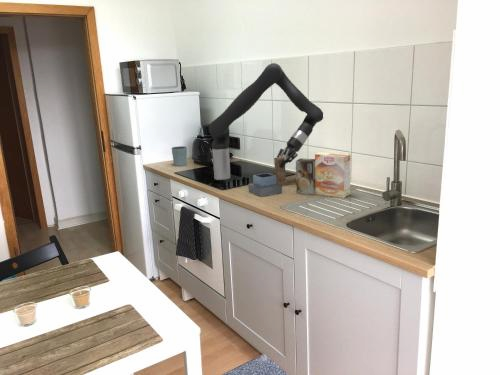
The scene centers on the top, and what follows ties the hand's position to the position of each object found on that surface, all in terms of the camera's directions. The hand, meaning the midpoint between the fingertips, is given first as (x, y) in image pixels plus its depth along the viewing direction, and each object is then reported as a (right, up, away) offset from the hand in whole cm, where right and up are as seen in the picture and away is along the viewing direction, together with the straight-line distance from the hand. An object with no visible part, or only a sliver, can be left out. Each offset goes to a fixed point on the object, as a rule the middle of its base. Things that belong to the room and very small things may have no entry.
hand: (278, 166), depth 220 cm
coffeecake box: (+24, -14, -20) cm, 34 cm away
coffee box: (+13, -13, -14) cm, 23 cm away
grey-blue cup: (-61, +4, +65) cm, 90 cm away
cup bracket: (-7, -13, -10) cm, 18 cm away
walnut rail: (+1, -9, +3) cm, 10 cm away
